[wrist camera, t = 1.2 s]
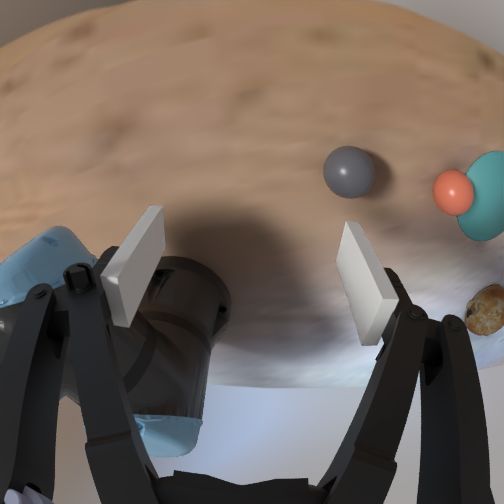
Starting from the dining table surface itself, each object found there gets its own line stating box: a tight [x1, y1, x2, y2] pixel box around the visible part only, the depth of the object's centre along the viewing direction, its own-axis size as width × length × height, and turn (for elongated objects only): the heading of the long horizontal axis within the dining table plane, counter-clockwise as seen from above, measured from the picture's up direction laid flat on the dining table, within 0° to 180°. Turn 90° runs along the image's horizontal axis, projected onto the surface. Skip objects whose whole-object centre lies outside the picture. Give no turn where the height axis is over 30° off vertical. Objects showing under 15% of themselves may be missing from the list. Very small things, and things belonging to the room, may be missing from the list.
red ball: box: [433, 170, 474, 216], centre depth 30 cm, size 6×6×6 cm
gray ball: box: [323, 146, 375, 199], centre depth 30 cm, size 6×6×6 cm
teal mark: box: [457, 151, 504, 241], centre depth 33 cm, size 14×14×1 cm
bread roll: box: [465, 285, 504, 336], centre depth 42 cm, size 10×10×8 cm
